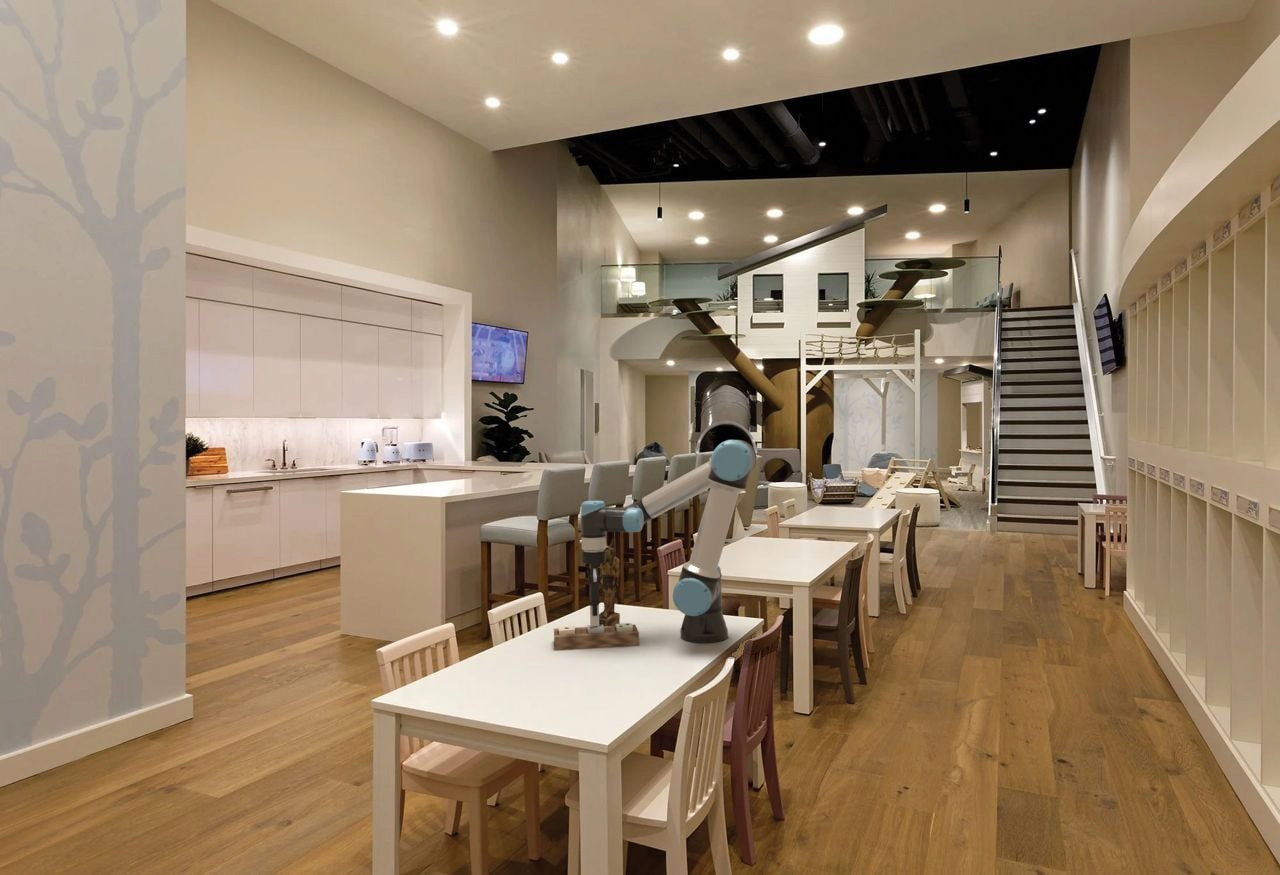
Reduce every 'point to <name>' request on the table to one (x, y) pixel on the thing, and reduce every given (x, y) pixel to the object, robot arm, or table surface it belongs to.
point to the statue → (609, 586)
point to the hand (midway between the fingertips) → (594, 625)
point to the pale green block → (624, 627)
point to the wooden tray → (596, 638)
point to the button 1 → (567, 630)
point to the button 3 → (595, 629)
